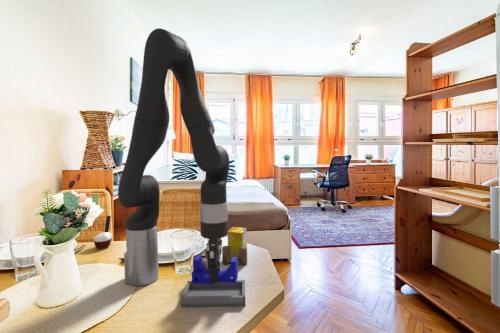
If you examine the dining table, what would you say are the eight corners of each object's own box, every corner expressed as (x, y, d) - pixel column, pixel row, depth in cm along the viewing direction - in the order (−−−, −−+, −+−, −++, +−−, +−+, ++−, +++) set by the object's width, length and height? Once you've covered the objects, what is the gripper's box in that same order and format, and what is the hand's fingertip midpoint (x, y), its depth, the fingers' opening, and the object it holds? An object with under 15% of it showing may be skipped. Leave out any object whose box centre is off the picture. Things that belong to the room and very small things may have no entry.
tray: (181, 307, 73) (181, 298, 72) (188, 289, 81) (187, 281, 81) (245, 306, 73) (245, 297, 73) (244, 288, 82) (244, 280, 82)
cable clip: (191, 283, 75) (191, 262, 74) (197, 275, 79) (196, 255, 79) (234, 285, 73) (234, 264, 73) (237, 277, 78) (237, 257, 77)
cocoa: (98, 253, 108) (95, 224, 107) (88, 250, 111) (86, 221, 109) (119, 244, 117) (117, 217, 115) (109, 241, 120) (108, 215, 118)
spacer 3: (221, 265, 97) (221, 249, 97) (222, 261, 100) (222, 245, 100) (230, 265, 97) (230, 248, 97) (230, 261, 100) (230, 245, 100)
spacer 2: (204, 267, 96) (204, 250, 95) (205, 263, 98) (205, 247, 98) (213, 267, 96) (212, 250, 95) (213, 263, 99) (213, 247, 98)
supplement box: (232, 253, 108) (232, 226, 107) (247, 255, 106) (247, 227, 105) (227, 259, 102) (227, 231, 101) (242, 261, 100) (242, 232, 99)
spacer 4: (238, 265, 97) (238, 249, 96) (238, 262, 100) (238, 246, 99) (247, 265, 97) (247, 249, 96) (247, 262, 100) (247, 246, 99)
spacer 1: (197, 280, 87) (197, 262, 86) (198, 275, 90) (198, 258, 89) (207, 280, 87) (206, 262, 86) (208, 275, 90) (207, 258, 89)
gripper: (226, 225, 68) (226, 291, 69) (229, 211, 82) (229, 266, 84) (195, 226, 68) (197, 291, 69) (204, 211, 82) (205, 266, 84)
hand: (215, 277), depth 76 cm, fingers closed on cable clip, 4 cm apart
